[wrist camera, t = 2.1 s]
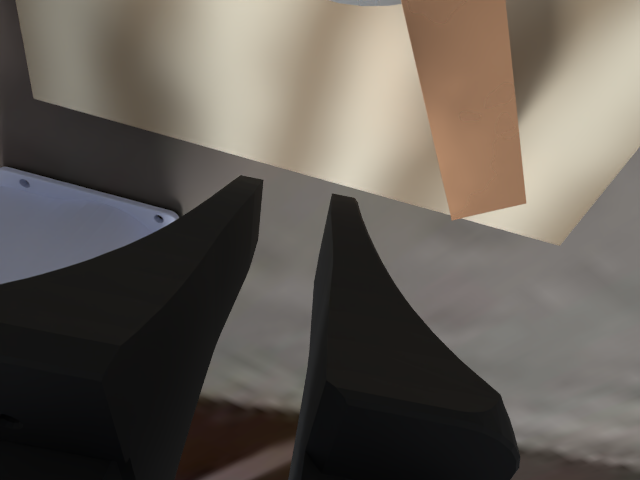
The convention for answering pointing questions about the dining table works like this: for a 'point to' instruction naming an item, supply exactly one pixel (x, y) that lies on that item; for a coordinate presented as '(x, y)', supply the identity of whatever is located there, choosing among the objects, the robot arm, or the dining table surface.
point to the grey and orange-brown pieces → (467, 99)
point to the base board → (348, 90)
